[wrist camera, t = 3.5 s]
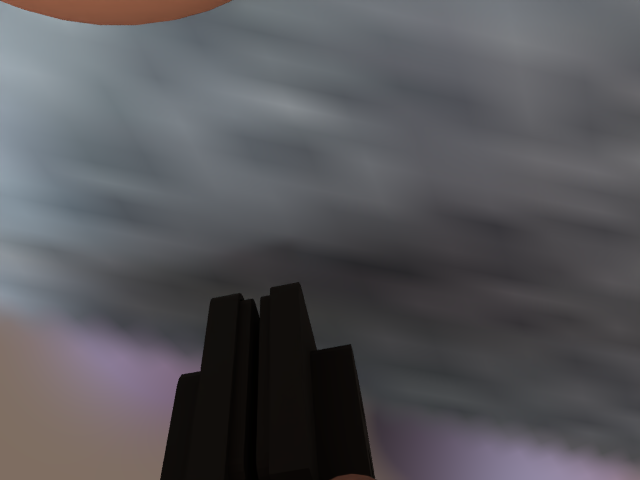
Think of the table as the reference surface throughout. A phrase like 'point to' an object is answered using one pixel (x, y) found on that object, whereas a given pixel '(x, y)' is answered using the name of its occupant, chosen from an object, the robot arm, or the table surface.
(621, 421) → the table surface
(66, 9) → the ball
